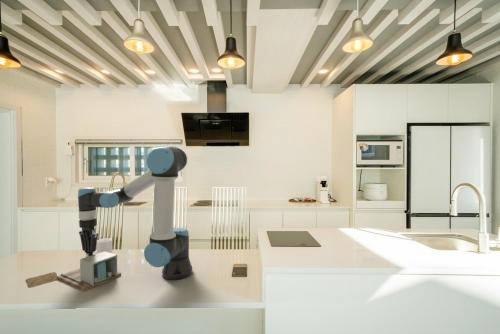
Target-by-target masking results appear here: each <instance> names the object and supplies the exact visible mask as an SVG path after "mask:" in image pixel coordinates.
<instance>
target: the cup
mask: <svg viewBox="0 0 500 334" xmlns="http://www.w3.org/2000/svg"><path fill="white" fill-rule="evenodd" d="M104 251H106V252H109V253H113V238H110V237H104V238H100V239H97V245H96V251H94V252H93V254H94V255H95V254H98V253H101V252H104Z"/></svg>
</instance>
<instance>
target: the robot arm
mask: <svg viewBox="0 0 500 334" xmlns="http://www.w3.org/2000/svg"><path fill="white" fill-rule="evenodd" d="M187 163H188V155H187V154H186V152H185V151H184V150H182V148H179V147H170V146H169V147H168V146H160V147H155V148H153V149H151V150H150V152H149V153H148V154H147V158H146V166H147V169H148V170H147V171H145V172H144V173H142V174H140V175H139V176H137V178H134V179H133V180H132V181H130V182H129V183H127V184H126V185H124V186H123V187H121V188H118V189H114V190H109V191H97V190H96V188H95V187H90V186H89V187H82V188H78V191H77V200H78V203H77V204H78V219H79V220H78V225H79V228H80V229H81V230H80V231H78V234H79V237H80V242H81V243H80V244H81V247H82V248H81V249H82V251H83V252H84V253H85V257H89V256H92V255H94V251H96V252H97V240H98V237H99V233H98V232H97V233H96V229H95V227H96V226H98V221H97V220H98V219H97V208H101V209H102V208H103V209H104V208H105V209H109V208H111V209H112V208H115V207H116V206H117V205H121V204H125V203H129V202H131V201H133V200H134V197H136V196H138V195H139V194H141V193H143V192H144V191H146V190H148V189H149V188H150V187H152V186H154V197H153V199H154V200H153V202H154V203H153V232H152V233H150V235H149V243H148V244H147V245H146V247H145V248H144V251H143V257H144V259H145V260H146V262H147V263H148V264H149V265H150V266H151V267H153V268H162V270H161V277H163V278H164V279H166V280H170V281H172V280H173V281H174V280H183V279H186V278H188V277H190V276H191V275H192V274H193V266H192V262H191V260H190V248H189V247H190V235H189V230H188V229H187V228H179V227H177V228H173V227H174V203H175V181H176V180H177V179H178V178H179V172H180V171H182V170H183V169H185V167H186V166H187Z"/></svg>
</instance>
